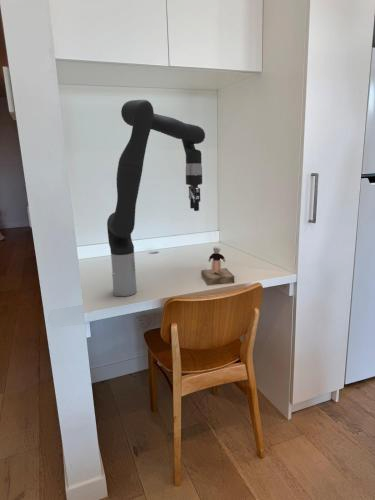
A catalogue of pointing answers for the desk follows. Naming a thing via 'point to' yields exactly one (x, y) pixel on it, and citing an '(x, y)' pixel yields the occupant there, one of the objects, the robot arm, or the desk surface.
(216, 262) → the grandmother figurine
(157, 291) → the desk surface
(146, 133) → the robot arm
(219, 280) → the walnut plinth
